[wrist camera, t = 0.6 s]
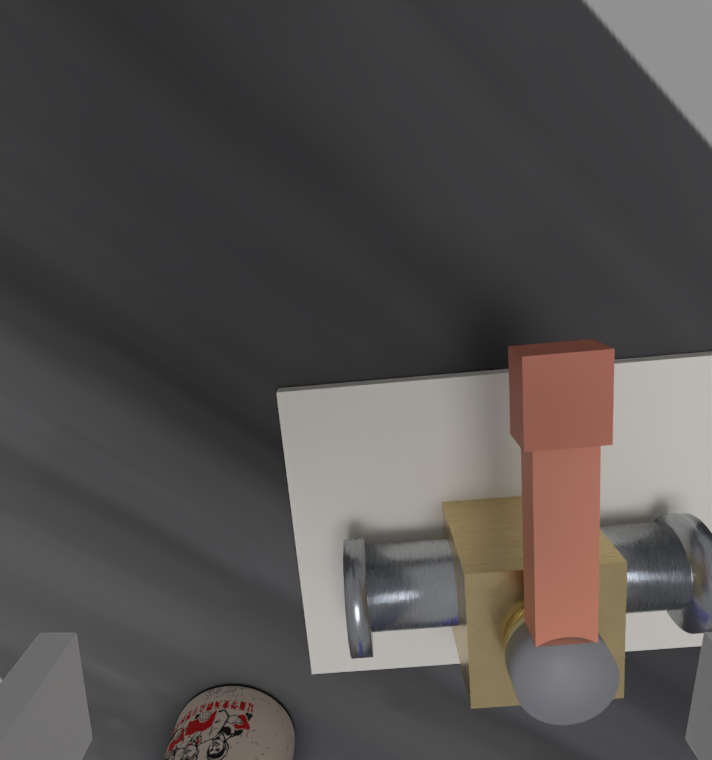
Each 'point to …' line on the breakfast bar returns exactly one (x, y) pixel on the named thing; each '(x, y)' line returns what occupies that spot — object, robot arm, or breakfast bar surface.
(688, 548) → the valve body
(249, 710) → the teacup with lid
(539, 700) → the lever
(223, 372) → the breakfast bar surface
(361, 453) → the mounting board
